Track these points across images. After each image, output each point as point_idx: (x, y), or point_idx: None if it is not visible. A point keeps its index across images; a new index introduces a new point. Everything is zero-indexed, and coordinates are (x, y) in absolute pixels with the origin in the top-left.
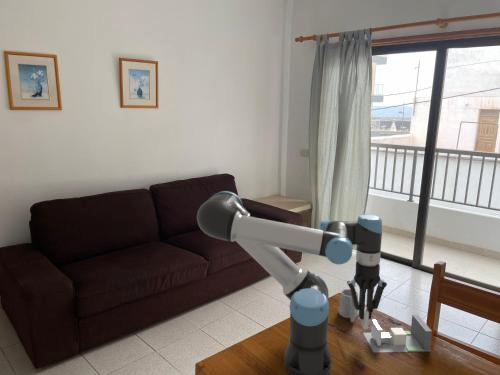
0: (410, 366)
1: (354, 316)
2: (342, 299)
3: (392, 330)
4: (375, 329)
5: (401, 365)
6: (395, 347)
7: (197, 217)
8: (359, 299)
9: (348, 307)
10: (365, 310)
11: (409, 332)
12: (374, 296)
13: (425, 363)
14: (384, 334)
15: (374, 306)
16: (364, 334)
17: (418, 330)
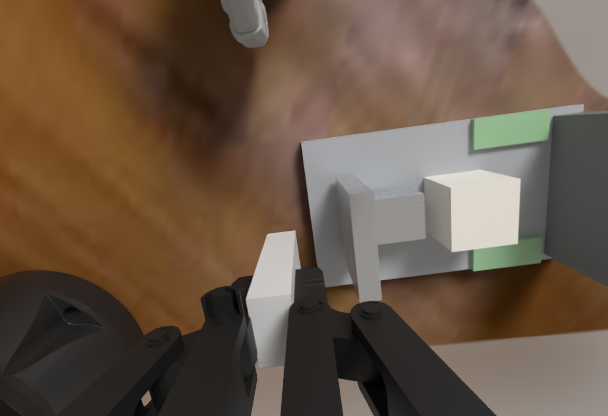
0: (442, 326)
1: (258, 42)
2: None
3: (452, 213)
4: (351, 250)
5: (411, 324)
6: (425, 246)
7: None
8: (173, 402)
9: None
10: (272, 346)
11: (546, 126)
12: (409, 411)
13: (507, 305)
14: (399, 215)
15: (363, 394)
16: (305, 156)
17: (604, 205)
